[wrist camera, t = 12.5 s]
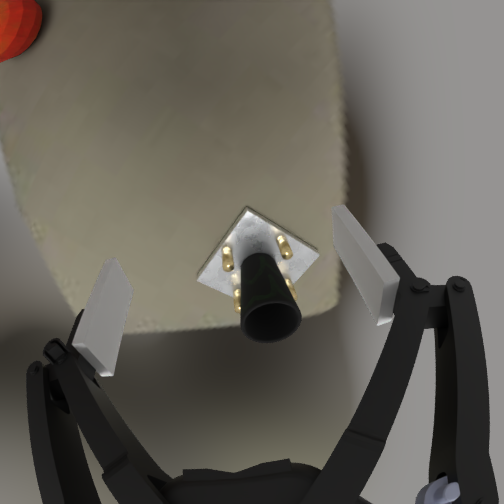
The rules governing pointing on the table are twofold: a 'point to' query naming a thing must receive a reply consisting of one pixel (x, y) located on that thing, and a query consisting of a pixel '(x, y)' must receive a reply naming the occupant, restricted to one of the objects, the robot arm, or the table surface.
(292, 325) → the cup
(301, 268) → the white board with pegs
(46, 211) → the table surface
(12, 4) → the apple
